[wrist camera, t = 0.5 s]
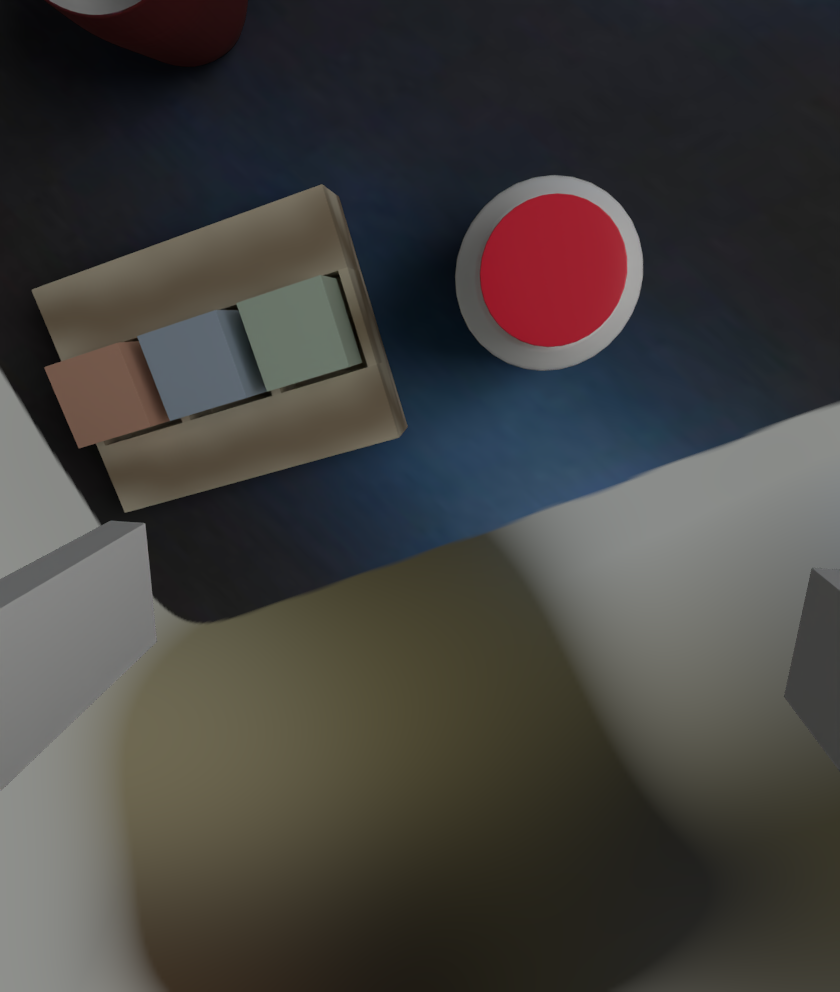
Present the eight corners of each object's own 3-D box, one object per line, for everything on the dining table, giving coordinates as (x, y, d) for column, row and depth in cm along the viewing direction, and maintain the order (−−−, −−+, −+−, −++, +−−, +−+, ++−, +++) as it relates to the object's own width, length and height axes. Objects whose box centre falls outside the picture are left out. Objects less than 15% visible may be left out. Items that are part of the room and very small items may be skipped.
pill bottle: (640, 265, 33) (705, 241, 23) (550, 386, 36) (571, 415, 25) (521, 177, 33) (531, 112, 22) (437, 305, 35) (411, 301, 25)
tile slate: (167, 334, 34) (137, 336, 31) (240, 310, 34) (215, 309, 31) (196, 412, 35) (169, 420, 32) (268, 390, 35) (247, 397, 32)
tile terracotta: (80, 363, 35) (43, 367, 32) (149, 340, 35) (117, 342, 32) (111, 438, 36) (78, 448, 34) (179, 417, 36) (151, 426, 33)
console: (71, 292, 37) (31, 289, 34) (338, 196, 34) (321, 184, 31) (154, 497, 40) (124, 512, 37) (407, 426, 37) (399, 437, 34)
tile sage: (258, 304, 33) (236, 303, 30) (336, 278, 32) (320, 274, 30) (286, 385, 34) (267, 391, 31) (362, 362, 33) (349, 366, 31)
